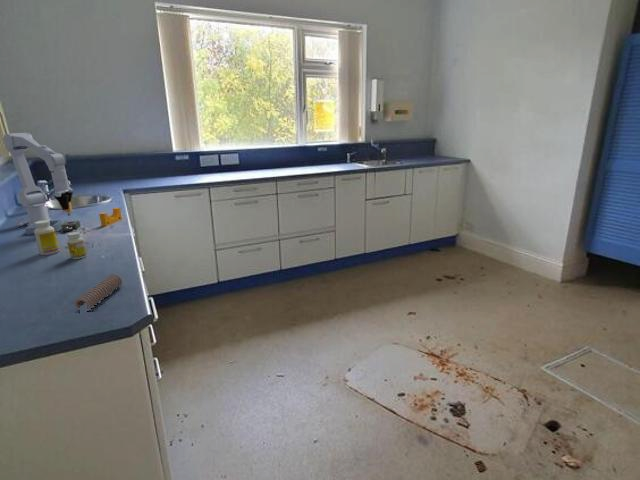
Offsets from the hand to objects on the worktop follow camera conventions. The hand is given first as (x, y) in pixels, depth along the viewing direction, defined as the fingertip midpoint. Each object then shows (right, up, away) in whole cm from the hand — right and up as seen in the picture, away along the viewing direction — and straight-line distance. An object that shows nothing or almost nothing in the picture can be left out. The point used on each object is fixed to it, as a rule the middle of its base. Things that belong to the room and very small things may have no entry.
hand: (67, 208), depth 183 cm
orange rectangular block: (0, -3, +1) cm, 4 cm away
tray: (-10, -10, 0) cm, 15 cm away
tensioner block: (+1, -10, +1) cm, 10 cm away
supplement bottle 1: (+12, -20, -29) cm, 37 cm away
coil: (+55, -33, -68) cm, 93 cm away
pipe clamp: (+15, -7, +11) cm, 20 cm away
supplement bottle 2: (+27, -22, -34) cm, 49 cm away
